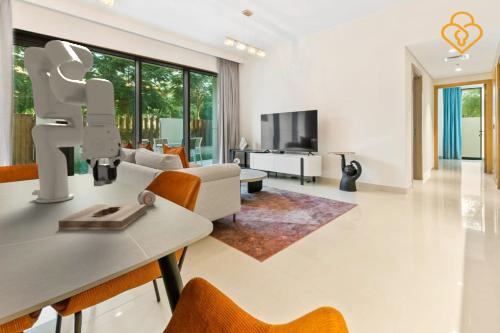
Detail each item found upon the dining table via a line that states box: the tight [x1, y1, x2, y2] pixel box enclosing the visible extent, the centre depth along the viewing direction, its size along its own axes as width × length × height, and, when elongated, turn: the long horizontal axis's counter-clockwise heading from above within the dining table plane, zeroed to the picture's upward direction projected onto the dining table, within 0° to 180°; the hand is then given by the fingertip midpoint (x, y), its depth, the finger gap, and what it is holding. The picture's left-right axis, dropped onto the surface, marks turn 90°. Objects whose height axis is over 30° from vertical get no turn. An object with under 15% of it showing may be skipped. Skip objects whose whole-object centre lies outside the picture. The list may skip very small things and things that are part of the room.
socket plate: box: [57, 204, 148, 230], centre depth 82 cm, size 18×18×2 cm
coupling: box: [93, 163, 117, 187], centre depth 80 cm, size 9×4×6 cm, turn 0°
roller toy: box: [137, 189, 156, 207], centre depth 99 cm, size 4×6×6 cm
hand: (105, 179), depth 81 cm, fingers closed on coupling, 4 cm apart
